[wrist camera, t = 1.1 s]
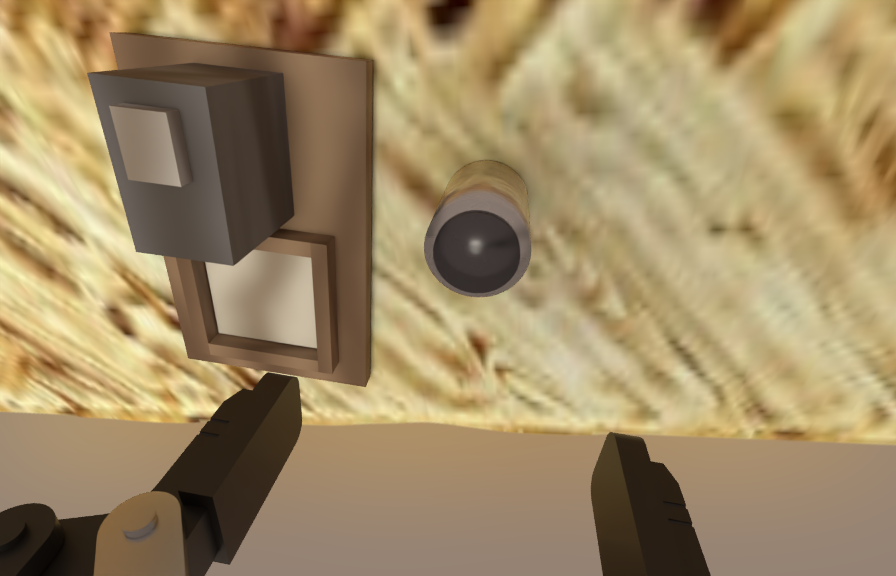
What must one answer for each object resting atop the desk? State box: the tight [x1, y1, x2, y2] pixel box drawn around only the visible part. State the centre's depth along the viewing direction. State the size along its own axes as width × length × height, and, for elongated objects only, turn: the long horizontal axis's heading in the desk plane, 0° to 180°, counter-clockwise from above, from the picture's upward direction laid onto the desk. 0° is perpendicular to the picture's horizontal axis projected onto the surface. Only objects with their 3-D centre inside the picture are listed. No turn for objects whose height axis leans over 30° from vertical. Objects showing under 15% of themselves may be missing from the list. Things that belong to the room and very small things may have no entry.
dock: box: [87, 33, 373, 387], centre depth 26 cm, size 14×22×9 cm, turn 175°
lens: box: [424, 160, 531, 297], centre depth 24 cm, size 5×5×8 cm
